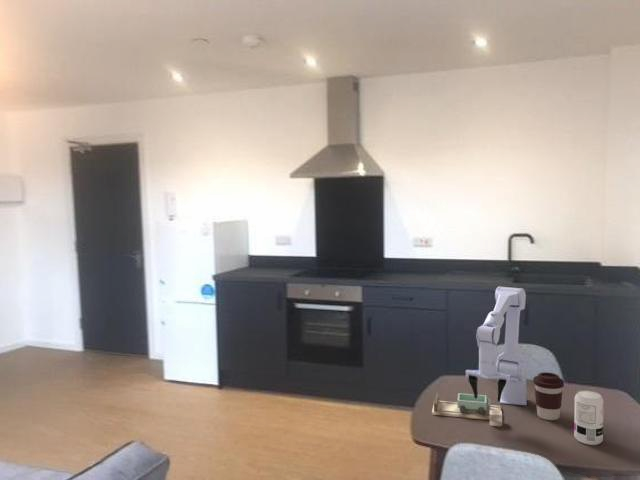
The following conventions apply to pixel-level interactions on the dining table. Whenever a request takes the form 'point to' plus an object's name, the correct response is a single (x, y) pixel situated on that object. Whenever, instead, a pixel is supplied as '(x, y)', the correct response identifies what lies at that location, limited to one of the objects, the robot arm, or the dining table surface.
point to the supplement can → (588, 417)
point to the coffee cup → (548, 395)
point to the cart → (473, 402)
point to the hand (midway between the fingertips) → (487, 399)
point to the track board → (453, 410)
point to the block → (495, 418)
